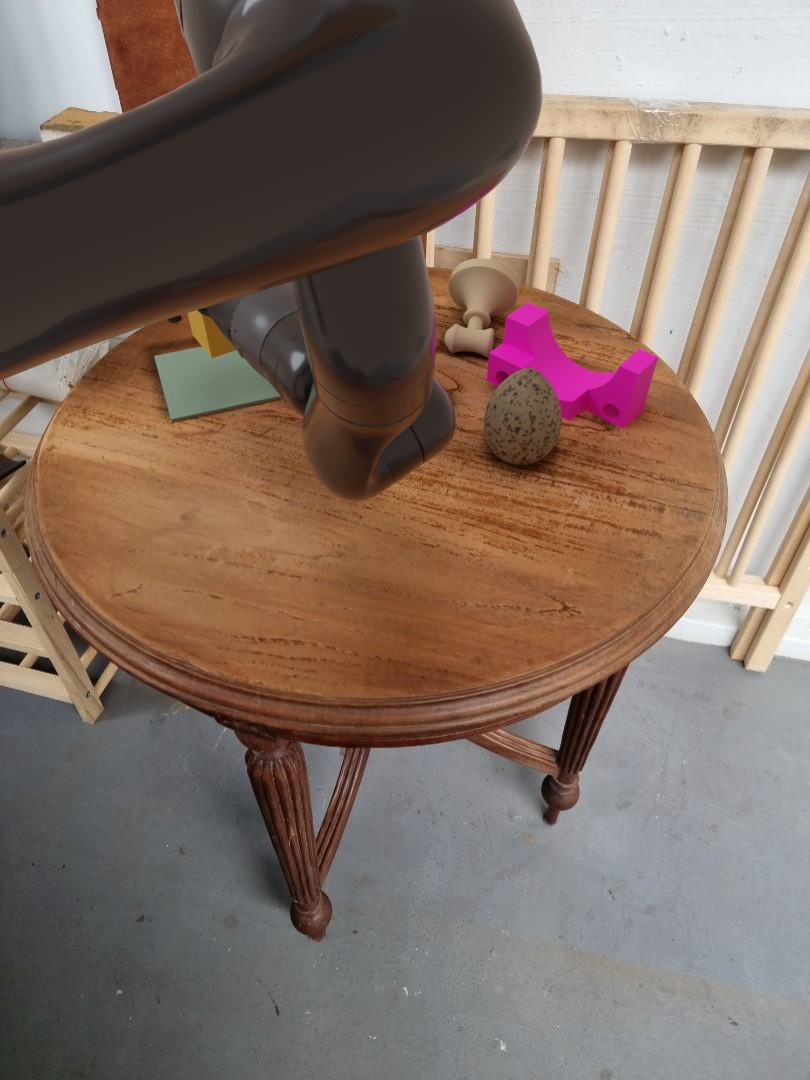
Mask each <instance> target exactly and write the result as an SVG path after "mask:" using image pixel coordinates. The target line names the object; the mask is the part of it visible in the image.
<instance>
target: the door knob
mask: <svg viewBox="0 0 810 1080" xmlns="http://www.w3.org/2000/svg"><path fill="white" fill-rule="evenodd" d="M519 292H520V281H519V279H518V277H517V275H516V273H515V272H514V271H513V270H512V269H511V268H510V267H509V266H507V265H506V264H504V263H502V262H500V261H499V260H498V261H497V260H495V259H490V258H485V257H476V258H470V259H466V260H464V261H462V262H460V263H458V264H457V266H455V268H454V269H453V270H452V272H451V275H450V279H449V282H448V293H449V295H450V297H451V299H452V301H453V302H454V303H455V305H457V307H459V308H460V309H461V310H463V311H465V312H464V313H463V315H462V320H463V323H464V324H465V325H466V326H467V327H465V326H462V325H460V324H458V323H454V324H453V325H452V326H451V327H449V328H448V329H447V330H446V332H445V333H444V344H445V346H446V347H447V349H448V350H449V352H450V353H451V354H455V353H459V352H471V353H475V354H479V355H481V356H484V357H485V358H489V353H490V352H491V351H493V347H494V339H495V330H494V329H493V328H492V327H490V328H489V326H490V324H491V320H492V319H491V317H496V316H500V315H501V316H502V315H504V314H505V313H507V312H509V311H511V310H512V309H513V308H514V306H515V305H516V303H517V301H518V298H519V297H518V296H519Z"/></svg>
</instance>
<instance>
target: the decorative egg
mask: <svg viewBox="0 0 810 1080" xmlns="http://www.w3.org/2000/svg"><path fill="white" fill-rule="evenodd" d="M562 422H563V418H562V413H561V407H560V402H559V399H558V397H557V394H556V392H555V390H554V388H553V387H552V385H551V384H550V382H549V381H548V380H547V379H546V378H545V377H544V376H543V375H542V374H541V373H540V372H539V371H537V370H535V369H531V368H526V369H522V370H519V371H517V372H515V373H513V374H512V375H510V376H509V377H508V378H506V379H505V380H504V381H503V382H502V383H501V384H500V385H499V386H496V388H495V389H494V391H493V392H492V394H491V396H490V397H489V400H488V402H487V404H486V407H485V410H484V415H483V433H484V439H485V440H486V442H487V445H488V447H489V448H490V450H491V451H492V453H493V454H494V455H495V456H496V457H498V459H500V460H501V461H503V462H505V463H506V464H507V463H508V464H510V465H513V466H529V465H532V464H535V463H538V462H539V461H541V460H543V459H544V458H545V457H546V456H548V454H549V453H551V451H552V450H553V449H554V447H555V445H556V444H557V442H558V439H559V438H560V435H561V430H562V424H563V423H562Z"/></svg>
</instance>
